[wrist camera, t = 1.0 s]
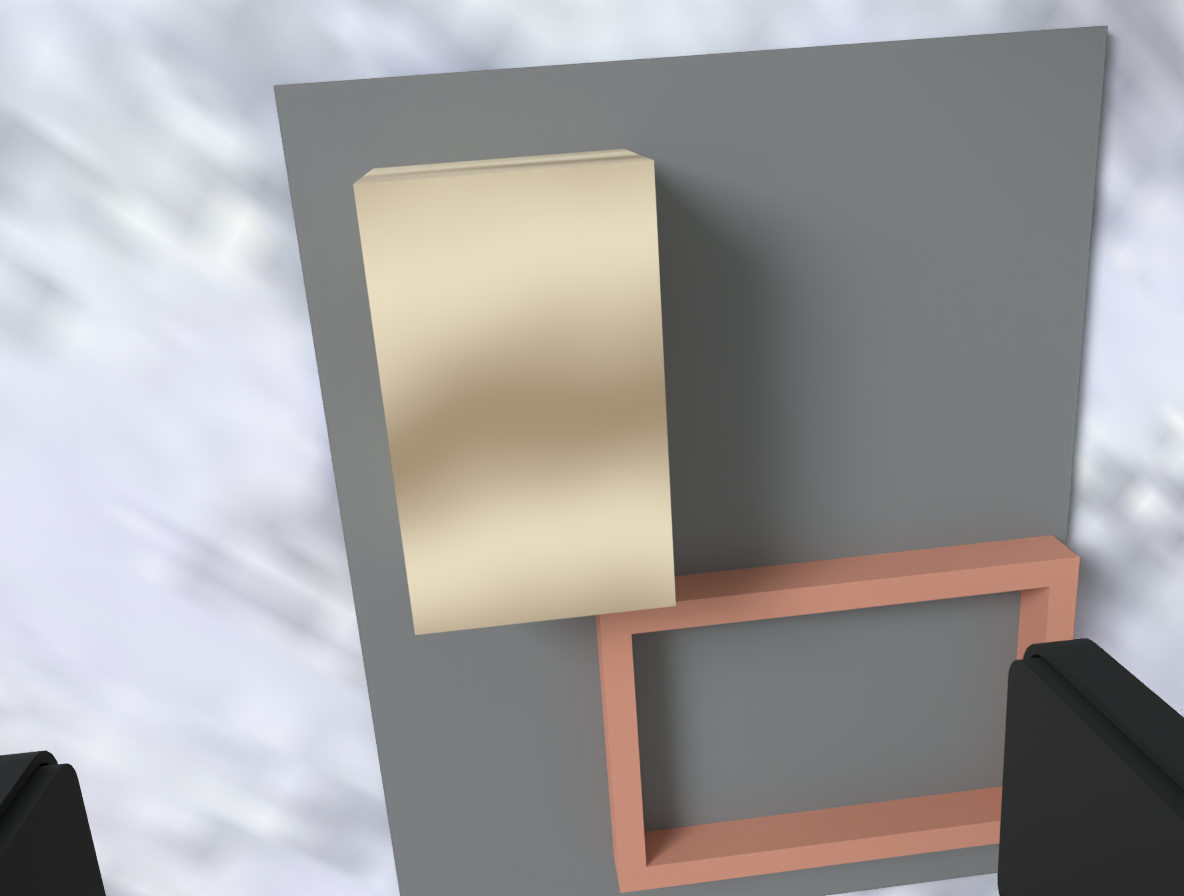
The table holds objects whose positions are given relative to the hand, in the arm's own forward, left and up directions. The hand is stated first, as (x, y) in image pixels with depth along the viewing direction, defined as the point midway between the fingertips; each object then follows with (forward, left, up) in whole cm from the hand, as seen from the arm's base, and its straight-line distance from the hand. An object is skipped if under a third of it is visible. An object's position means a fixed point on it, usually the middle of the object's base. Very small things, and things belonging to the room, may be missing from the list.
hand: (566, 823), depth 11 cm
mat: (+5, +5, -18) cm, 19 cm away
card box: (0, 0, -18) cm, 18 cm away
